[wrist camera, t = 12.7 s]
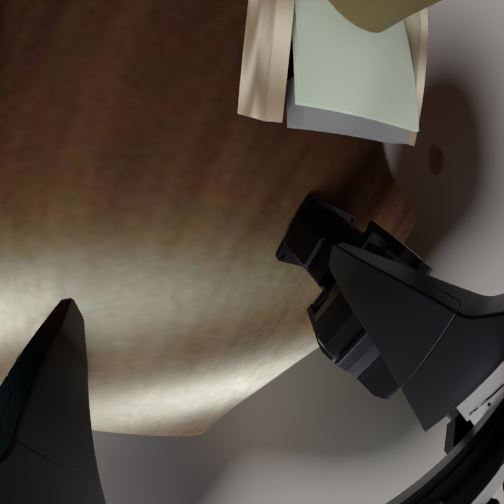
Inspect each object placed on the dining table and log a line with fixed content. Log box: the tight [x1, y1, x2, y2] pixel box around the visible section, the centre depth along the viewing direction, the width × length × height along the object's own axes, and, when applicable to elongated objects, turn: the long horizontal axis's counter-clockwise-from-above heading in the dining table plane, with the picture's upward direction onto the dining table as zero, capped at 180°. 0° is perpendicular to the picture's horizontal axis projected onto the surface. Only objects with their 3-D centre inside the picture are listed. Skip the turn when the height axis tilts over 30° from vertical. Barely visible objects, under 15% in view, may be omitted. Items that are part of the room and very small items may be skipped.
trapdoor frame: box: [238, 0, 428, 146], centre depth 13 cm, size 16×13×5 cm
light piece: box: [286, 0, 419, 144], centre depth 12 cm, size 15×10×3 cm, turn 176°
